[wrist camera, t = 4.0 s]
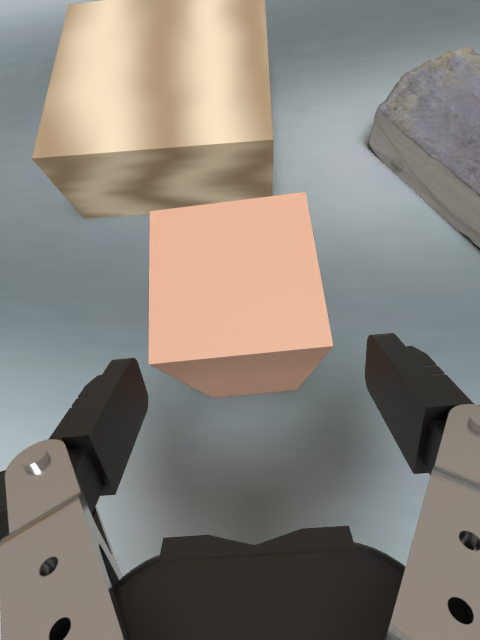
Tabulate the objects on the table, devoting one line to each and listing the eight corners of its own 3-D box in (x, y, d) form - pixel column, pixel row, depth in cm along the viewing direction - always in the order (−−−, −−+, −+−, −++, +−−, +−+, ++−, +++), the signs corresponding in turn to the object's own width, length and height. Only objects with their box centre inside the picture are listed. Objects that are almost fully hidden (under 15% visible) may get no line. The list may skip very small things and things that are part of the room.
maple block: (86, 220, 24) (31, 158, 19) (107, 87, 29) (68, 4, 23) (271, 209, 23) (273, 139, 18) (264, 73, 28) (263, -18, 22)
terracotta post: (213, 398, 19) (148, 364, 9) (208, 318, 21) (149, 211, 10) (297, 390, 19) (333, 345, 9) (286, 310, 21) (305, 192, 10)
